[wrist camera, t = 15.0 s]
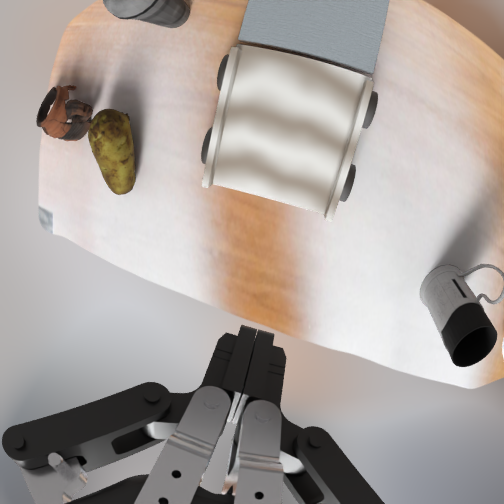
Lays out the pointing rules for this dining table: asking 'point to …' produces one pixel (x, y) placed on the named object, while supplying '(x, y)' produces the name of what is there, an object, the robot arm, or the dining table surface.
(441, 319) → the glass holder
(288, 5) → the panel
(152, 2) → the beverage cup
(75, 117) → the brown curved piece
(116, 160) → the potato
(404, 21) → the dining table surface
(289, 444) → the robot arm
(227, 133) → the flatbed cart
